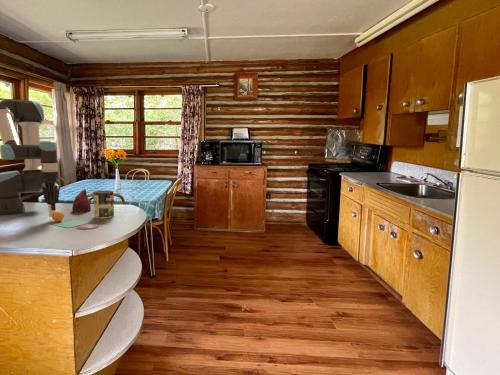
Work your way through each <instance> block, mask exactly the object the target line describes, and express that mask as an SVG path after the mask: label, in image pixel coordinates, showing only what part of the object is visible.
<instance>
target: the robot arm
mask: <svg viewBox="0 0 500 375" xmlns="http://www.w3.org/2000/svg"><path fill="white" fill-rule="evenodd" d="M44 113H45V112H44V108H43V106H42V104H41V103H40V102H39V101H33V100H27V99H26V100H23V99H13V98H12V99H11V98H6V99H2V100H0V138H1V141H2V144H1V145H0V157H1V159H2V160H10V161H13V160H14V161H15V160H19V161H20V160H24V166H25V167H24V168H23V169H22V172H21V173H20V171H18V170H12V171H11V170H10V171H3V172H0V215H1V216H2V215H3V216H5V215H6V216H7V215H15V214H20V213H25V211H26V207H25V206H26V205H25V204H24V202H23V200H22V198H21V194H28V193H30V194H31V193H42V195H43V199H44V203H46V204H47V207H48V217H49V218H50V217H51V218H52V214H53V213H54V212H56V211H57V210H56V204H59V201H60V200H59V198H60V190H61V184H58V181H57V179H59V172H58V170H59V166H58V165H59V164H58V147H57V143H56V141H54V140H51V141H49V140H41V138H40V137H41V135H40V126H41V125H42V122H44V121H45V114H44ZM15 121H17V124H18V125H19V126H21V133H22V134H21V135H22V142H21V139H20V135H19V133H18V129H17V127H16V124H15Z"/></svg>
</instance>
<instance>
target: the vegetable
mask: <svg viewBox="0 0 500 375" xmlns="http://www.w3.org/2000/svg"><path fill="white" fill-rule="evenodd" d="M71 207H72V208H71V209H72V212H73V213H80V212H81V213H87V211H88V212H90V210H92V206H91V201H90V200H89V198H88V194H87V190H86V188H83V189H82V190H81V192H79V193H78V194H76V196H75V198H74V200H73V202H72V206H71Z"/></svg>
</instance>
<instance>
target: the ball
mask: <svg viewBox="0 0 500 375" xmlns="http://www.w3.org/2000/svg"><path fill="white" fill-rule="evenodd" d="M64 217H65V214H64V213H63V211H61V210H56V212H54V213H53V214H52V217H51V219H52V220H53V221H54V222H57V223H58V222H59V223H60V222H61V221H63V220H64V219H65V218H64Z"/></svg>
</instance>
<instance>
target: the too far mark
mask: <svg viewBox="0 0 500 375" xmlns="http://www.w3.org/2000/svg"><path fill="white" fill-rule="evenodd" d="M99 227H100V225H99V224H94V223H93V224H92V223H88V224H84V225H80V226H76V229H77V230H82V231H86V230H94V229H98V228H99Z"/></svg>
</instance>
